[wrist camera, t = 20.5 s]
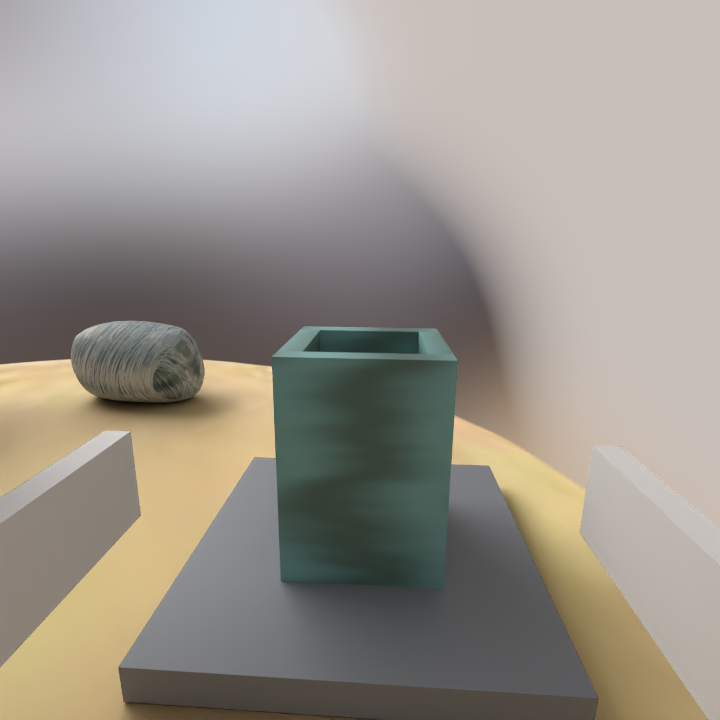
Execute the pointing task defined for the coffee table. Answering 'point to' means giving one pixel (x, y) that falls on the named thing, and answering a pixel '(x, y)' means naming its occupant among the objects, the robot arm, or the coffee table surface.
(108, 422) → the coffee table surface
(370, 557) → the sleeve
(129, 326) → the grey rounded piece
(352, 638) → the hub plate
